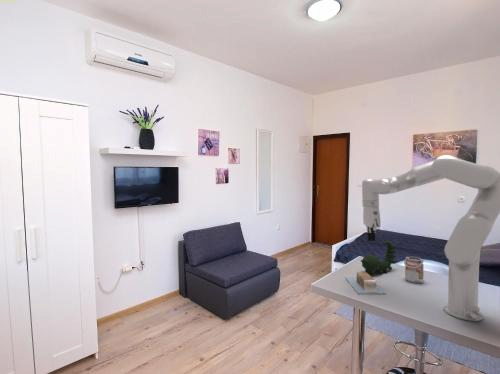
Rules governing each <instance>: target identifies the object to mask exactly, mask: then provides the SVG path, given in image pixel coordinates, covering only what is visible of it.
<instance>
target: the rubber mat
mask: <svg viewBox="0 0 500 374" xmlns="http://www.w3.org/2000/svg"><path fill="white" fill-rule="evenodd" d="M344 279H345V280H346V281H347V282H348V283H349V285H350V286H351V287H352V288H353V290H354V291H355V293H356V294H357V295H387V292H386V291H385V290H384V289H382V288H381V287H380V286H379V285H378V284H377V283H376V292H365V290H364V289H363V288H362V287H361V286H360V285H359V284H358V283H357V276H345V277H344Z"/></svg>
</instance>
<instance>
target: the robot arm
mask: <svg viewBox="0 0 500 374" xmlns="http://www.w3.org/2000/svg"><path fill="white" fill-rule="evenodd" d="M444 179H446V180H449V181H452V182H455V183H458V184H461V185H464V186H467V187H470V188H472V189H476V190H477V194H476V196H475V198H474V200H473V201H472V203H471V205H470V208H469V209H468V210H467V213H465V214H464V215H463V216H462V217H461V218H460V219H459V220H458V222H457V223H456V225H455V226H454V229H453V231H452V233H451V234H450V236H449V238H448V240H447V242H446V244H445V246H444V250H443V252H444V255H445V258H447V260H448V281H447V282H448V283H447V285H448V290H447V291H448V292H447V297H448V298H447V300H448V301H447V303H444V305H443V310H444V312H445V313H447V314H448V315H450V316H452V317H454V318H457V319H460V320H463V321H464V320H465V321H468V322H471V321H472V322H478V321H482V320H483V319H484V318H485V316H484V315H483V313H482V312H481V309H480V307H479V279H480V276H479V275H480V261H481V260H480V257H481V249H482V247H483V246H484V244H485V242H486V240H487V238H488V237H489V235H490V234H491V232H492V230H493V226H494V225H495V222H496V220H497V219H498V217H499V214H500V171H498V170H497V169H495V168H494V167H491V166H489V165H482V164H478V163H475V162H471V161H468V160H464V159H462V158H458V157H456V156H455V155H449V154H444V155H439V156H438V157H437V158H435V159H434V160H431V161H428V162H426V163H423V164H419V165H416V166H414V167H412V168H411V169H410V170H408V171H407V172H404V173H401V174H399V175H396V176H393V177H390V178H380V179H375V178H373V179H372V178H371V179H370V178H369V179H363V180H362V182H361V190H362V191H361V192H362V195H361V196H362V197H361V198H362V208H363V211H362V213H363V214H362V217H363V218H362V222H363V225H364V226H365V228H366V232H367V235H366V236H367V237H366V238H367V241H369V242H374V241H376V231H378V228H381V226H382V225H381V213H380V195H384V196H385V195H390V194H395V193H398V192H402V191H405V190H408V189H411V188H414V187H421V186H424V185H427V184H431V183H433V182H434V183H435V182H437V181H440V180H444Z"/></svg>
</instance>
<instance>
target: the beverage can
mask: <svg viewBox="0 0 500 374" xmlns="http://www.w3.org/2000/svg"><path fill="white" fill-rule="evenodd" d="M403 263H404V266H405V280H406V281H408V282H409V283H411V284H422V283H423V282H424V259H422V258H420V257H417V256H406V257H405V260H404V262H403Z"/></svg>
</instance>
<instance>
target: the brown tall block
mask: <svg viewBox="0 0 500 374" xmlns="http://www.w3.org/2000/svg"><path fill="white" fill-rule="evenodd" d="M356 277H357V283H358V284H359V285H360V286H361V287H362V288H363V289H364V290H365V292H376V284H377V281H376V280H375V278H373V277H372V276H371V275H369V274H368V273H367V272H365V271H364V272H363V271H362V272H360V271H359V272H358V271H357V272H356Z"/></svg>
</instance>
